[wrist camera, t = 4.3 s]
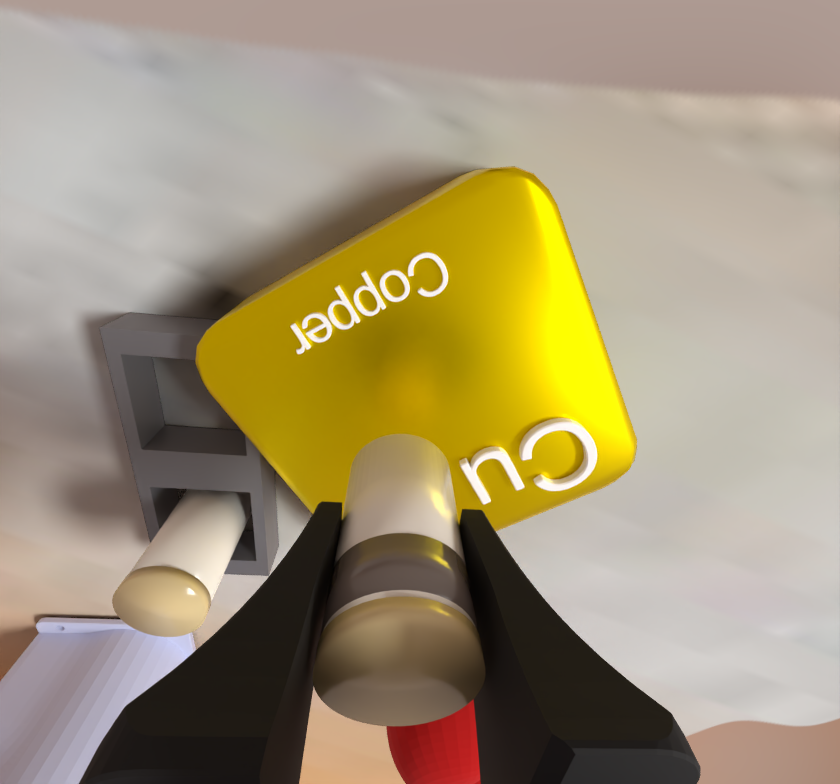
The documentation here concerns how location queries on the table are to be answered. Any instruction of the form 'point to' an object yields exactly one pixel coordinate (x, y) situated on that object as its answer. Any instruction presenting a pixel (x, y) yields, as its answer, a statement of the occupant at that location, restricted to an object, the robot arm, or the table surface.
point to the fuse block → (184, 437)
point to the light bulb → (438, 750)
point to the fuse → (183, 564)
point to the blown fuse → (399, 593)
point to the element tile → (433, 354)
